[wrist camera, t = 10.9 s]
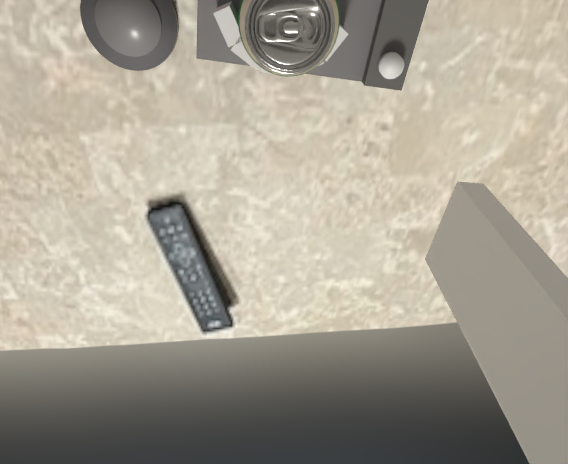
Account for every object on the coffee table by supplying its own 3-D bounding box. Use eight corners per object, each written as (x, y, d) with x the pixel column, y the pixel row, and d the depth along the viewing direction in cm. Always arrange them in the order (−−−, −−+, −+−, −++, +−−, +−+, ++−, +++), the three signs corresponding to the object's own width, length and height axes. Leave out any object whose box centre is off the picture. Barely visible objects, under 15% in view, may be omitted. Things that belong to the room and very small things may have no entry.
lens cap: (89, 61, 36) (85, 64, 36) (77, -42, 32) (72, -41, 31) (178, 73, 37) (176, 77, 36) (178, -26, 33) (175, -24, 32)
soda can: (315, 36, 31) (336, 84, 21) (247, 33, 31) (237, 80, 21) (322, -45, 28) (349, -33, 19) (247, -49, 28) (235, -37, 18)
